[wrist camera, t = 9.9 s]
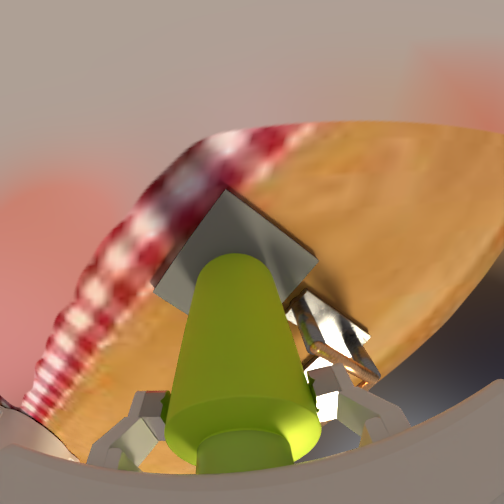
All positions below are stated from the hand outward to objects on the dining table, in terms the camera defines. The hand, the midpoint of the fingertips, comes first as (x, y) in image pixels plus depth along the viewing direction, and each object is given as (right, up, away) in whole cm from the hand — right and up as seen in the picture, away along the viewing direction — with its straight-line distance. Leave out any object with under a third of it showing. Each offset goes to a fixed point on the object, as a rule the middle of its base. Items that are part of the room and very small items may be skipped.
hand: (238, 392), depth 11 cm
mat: (-1, +4, +11) cm, 12 cm away
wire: (+5, -3, +15) cm, 16 cm away
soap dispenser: (-1, +4, +10) cm, 11 cm away
